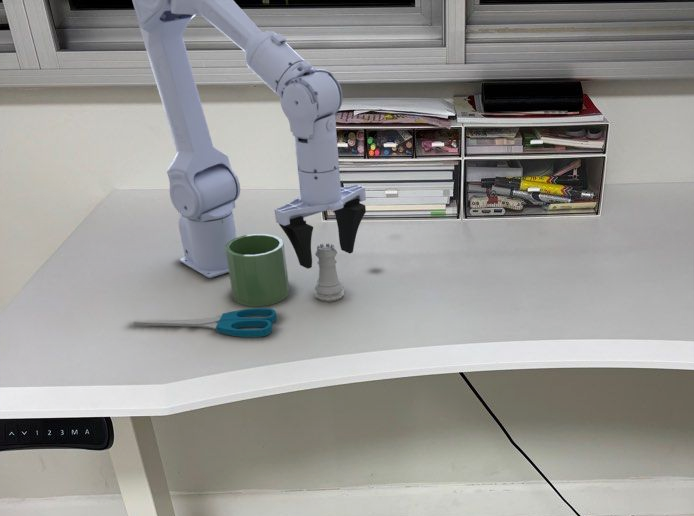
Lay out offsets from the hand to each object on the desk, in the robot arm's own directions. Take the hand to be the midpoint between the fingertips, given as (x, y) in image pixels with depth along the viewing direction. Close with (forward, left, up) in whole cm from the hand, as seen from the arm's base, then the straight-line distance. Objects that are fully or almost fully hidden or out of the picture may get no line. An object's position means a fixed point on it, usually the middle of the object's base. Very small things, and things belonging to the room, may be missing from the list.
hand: (326, 258), depth 117 cm
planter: (-8, -7, -6) cm, 12 cm away
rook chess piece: (0, 0, -6) cm, 6 cm away
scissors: (-5, -19, -6) cm, 20 cm away
